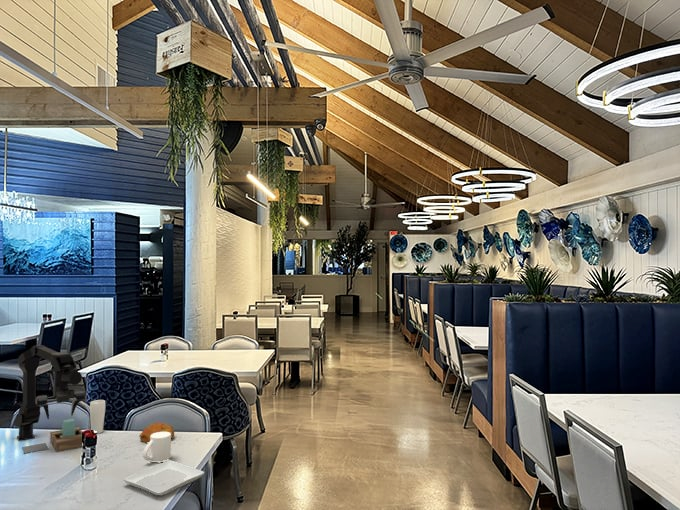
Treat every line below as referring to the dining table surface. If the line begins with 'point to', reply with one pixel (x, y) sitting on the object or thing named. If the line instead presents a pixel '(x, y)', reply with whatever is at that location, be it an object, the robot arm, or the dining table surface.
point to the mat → (35, 448)
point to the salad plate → (189, 471)
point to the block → (68, 428)
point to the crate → (66, 440)
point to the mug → (158, 447)
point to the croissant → (153, 429)
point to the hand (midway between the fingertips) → (60, 417)
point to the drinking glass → (97, 415)
